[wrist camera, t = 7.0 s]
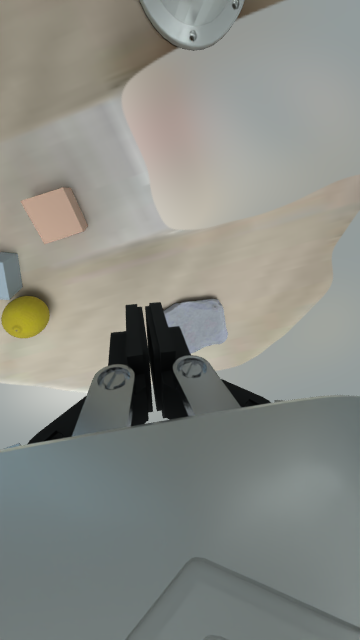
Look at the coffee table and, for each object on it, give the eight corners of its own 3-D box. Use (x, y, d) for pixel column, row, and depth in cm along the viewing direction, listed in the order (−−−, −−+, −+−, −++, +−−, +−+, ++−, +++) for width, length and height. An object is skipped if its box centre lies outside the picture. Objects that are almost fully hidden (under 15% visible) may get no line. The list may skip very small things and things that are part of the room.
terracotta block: (34, 199, 31) (20, 201, 27) (70, 187, 32) (62, 187, 27) (54, 237, 34) (44, 244, 30) (88, 226, 34) (83, 231, 30)
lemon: (8, 308, 37) (-18, 334, 30) (27, 281, 36) (4, 302, 29) (43, 326, 39) (26, 354, 33) (62, 302, 38) (48, 326, 31)
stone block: (154, 306, 44) (169, 352, 48) (157, 312, 40) (173, 363, 43) (213, 287, 45) (224, 333, 49) (223, 291, 41) (234, 342, 44)
